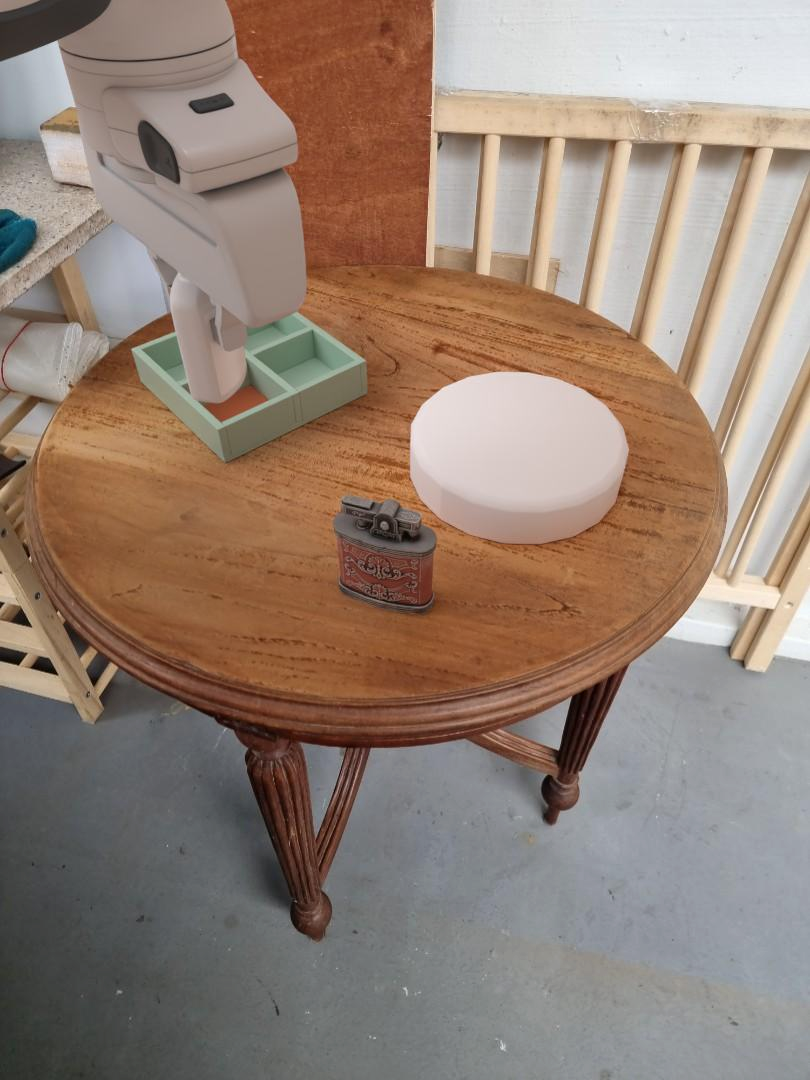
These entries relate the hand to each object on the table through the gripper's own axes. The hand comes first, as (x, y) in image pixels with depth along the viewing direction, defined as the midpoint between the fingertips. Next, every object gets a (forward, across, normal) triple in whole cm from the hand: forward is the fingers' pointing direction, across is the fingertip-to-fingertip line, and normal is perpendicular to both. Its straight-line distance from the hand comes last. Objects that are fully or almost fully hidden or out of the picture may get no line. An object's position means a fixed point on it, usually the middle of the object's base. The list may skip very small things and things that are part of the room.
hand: (208, 325), depth 52 cm
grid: (+21, -19, +12) cm, 31 cm away
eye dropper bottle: (+5, 0, 0) cm, 5 cm away
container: (+21, +8, +24) cm, 33 cm away
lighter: (+21, +12, +5) cm, 25 cm away
